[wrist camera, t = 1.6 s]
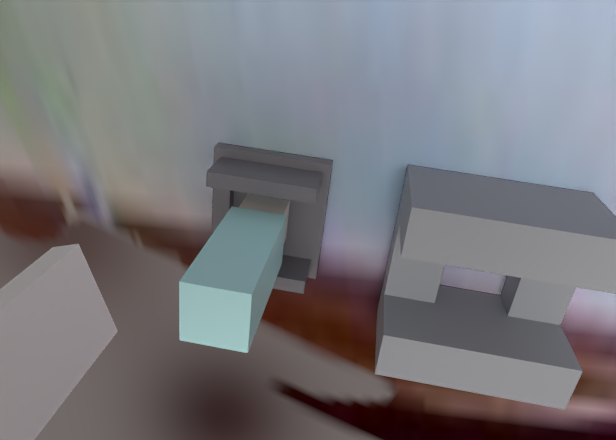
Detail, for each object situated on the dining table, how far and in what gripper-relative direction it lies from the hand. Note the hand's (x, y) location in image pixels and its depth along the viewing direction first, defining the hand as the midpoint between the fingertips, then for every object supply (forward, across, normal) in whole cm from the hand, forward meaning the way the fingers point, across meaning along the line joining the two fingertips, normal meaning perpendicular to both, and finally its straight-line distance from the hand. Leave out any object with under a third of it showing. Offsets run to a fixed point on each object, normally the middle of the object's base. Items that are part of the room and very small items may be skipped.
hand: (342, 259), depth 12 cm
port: (+22, +5, -13) cm, 27 cm away
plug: (+21, -9, -8) cm, 24 cm away
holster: (+22, -9, -8) cm, 25 cm away
